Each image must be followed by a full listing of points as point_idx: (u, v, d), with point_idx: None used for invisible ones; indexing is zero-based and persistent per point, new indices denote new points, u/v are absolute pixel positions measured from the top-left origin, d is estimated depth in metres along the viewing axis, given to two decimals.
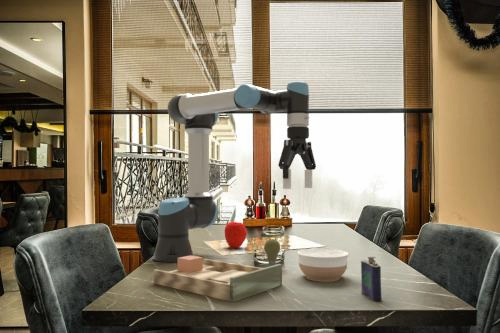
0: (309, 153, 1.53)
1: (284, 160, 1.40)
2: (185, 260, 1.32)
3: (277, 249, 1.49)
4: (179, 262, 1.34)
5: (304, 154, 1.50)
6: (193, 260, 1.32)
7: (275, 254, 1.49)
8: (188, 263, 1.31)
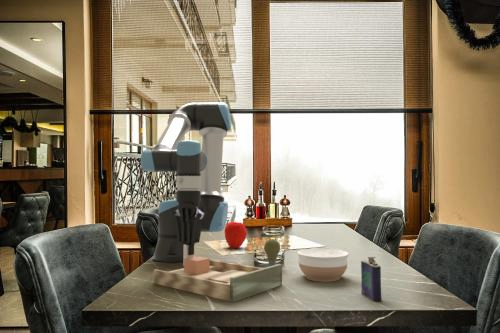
0: None
1: None
2: (192, 261, 1.30)
3: (277, 249, 1.49)
4: (185, 263, 1.32)
5: None
6: (200, 261, 1.30)
7: (275, 254, 1.49)
8: (195, 264, 1.29)
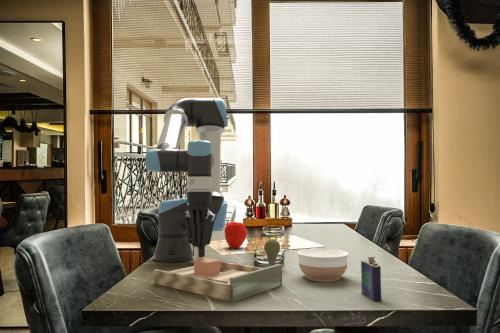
0: None
1: None
2: (202, 263, 1.28)
3: (277, 249, 1.49)
4: (196, 265, 1.29)
5: None
6: (210, 263, 1.28)
7: (275, 254, 1.49)
8: (205, 266, 1.27)
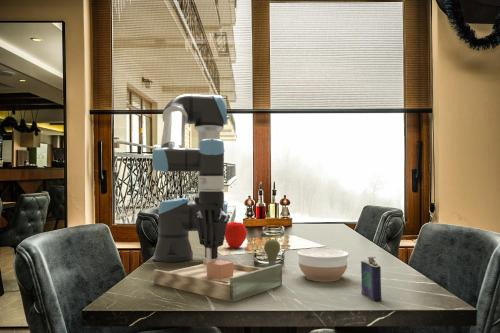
0: None
1: None
2: (215, 265, 1.24)
3: (277, 249, 1.49)
4: (209, 267, 1.26)
5: None
6: (224, 265, 1.24)
7: (275, 254, 1.49)
8: (219, 268, 1.23)
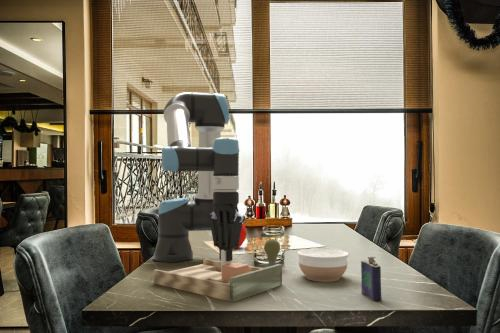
0: None
1: None
2: (231, 268, 1.20)
3: (277, 249, 1.49)
4: (224, 270, 1.22)
5: None
6: (239, 268, 1.21)
7: (275, 254, 1.49)
8: (234, 271, 1.20)
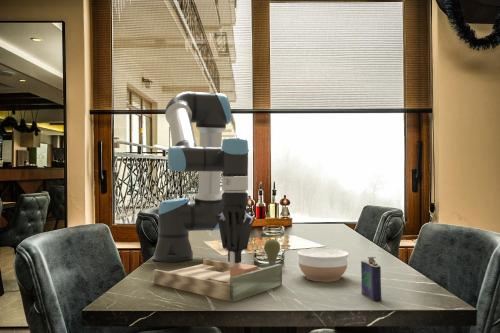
0: None
1: None
2: (240, 269, 1.18)
3: (277, 249, 1.49)
4: (232, 272, 1.20)
5: None
6: (248, 269, 1.18)
7: (275, 254, 1.49)
8: (243, 273, 1.18)
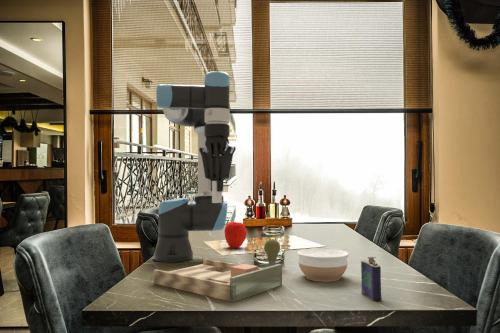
0: None
1: None
2: (240, 269, 1.18)
3: (277, 249, 1.49)
4: (233, 272, 1.20)
5: None
6: (249, 269, 1.18)
7: (275, 254, 1.49)
8: (244, 273, 1.18)
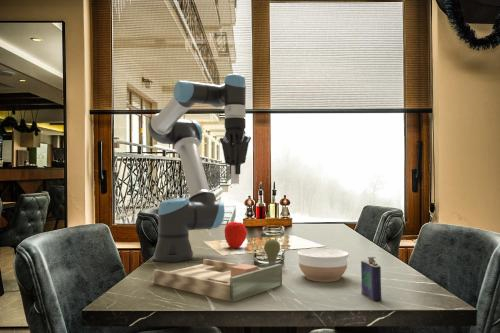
0: None
1: None
2: (240, 269, 1.18)
3: (277, 249, 1.49)
4: (233, 272, 1.20)
5: None
6: (249, 269, 1.18)
7: (275, 254, 1.49)
8: (244, 273, 1.18)
